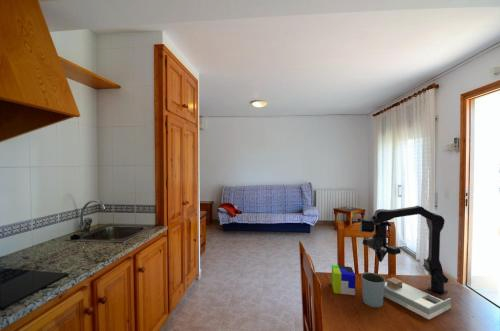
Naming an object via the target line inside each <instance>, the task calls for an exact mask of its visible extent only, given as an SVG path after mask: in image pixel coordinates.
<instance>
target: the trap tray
mask: <svg viewBox="0 0 500 331" xmlns="http://www.w3.org/2000/svg"><path fill="white" fill-rule="evenodd" d="M383 297H385V298H386V299H389V300H391V301H393V302H394V303H396V304H399V305H401V306H402V307H404V308H406V309H408V310H410V311H412V312H414V313H415V314H417V315H420V316H422V318H424V319H427V320H431V319H433V318H435V317H437V316H439V315H441V314H443V313H444V312H446V311H448V310H450V309H452V298H451V297H449V298H445V300H443V299H441V298H438V297H436V296H434V295H431V294H430V293H427V292H425V291H422V290H420V289H418V288H416V287H414V286H411V285H410V284H407V283H405V282H402V288H400V289H397V290H395V289H393V288H391V287H389V286H387V281H385V286H384V296H383Z"/></svg>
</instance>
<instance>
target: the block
mask: <svg viewBox="0 0 500 331" xmlns="http://www.w3.org/2000/svg"><path fill="white" fill-rule="evenodd" d="M386 282H387V286H389V287H391V288H393V289H395V290H397V289H400V288H402V283H403V281H402V280H400V279H397V278H396V277H390V278H387V279H386Z"/></svg>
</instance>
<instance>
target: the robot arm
mask: <svg viewBox="0 0 500 331" xmlns="http://www.w3.org/2000/svg"><path fill="white" fill-rule="evenodd" d="M417 215H420V216H422V217H423V218H425V221H426V225H427V229H428V256H427V258H423V265H422V267H423V268H424V270H425V272H427V273H428V275H429V276H430V286H429V287H427V290H429V291H431V292H434V293H436V294H438V295H441V296H442V295H445V294H446V293H448V290H447V289H446V288H445V284H447V283H449V278H448V277H447V276H445V275H444V270H443V266H442V263H441V260H440V252H441V250H440V249H441V232H442V230H443V229H444V227H445V226H444V225H445V222H446V221H445V218H444V216H442V215H440V214H438V213H436V212H431V211H429V210H428V209H425V207H423V206H420V205H415V206H409V207H408V206H407V207H402V208H396V209H395V208H394V209H387V208H386V209H385V208H383V209H381V208H380V209H376V210H375V211H374V214H373V215H372V217H371V218H370V219H360V223H359V231H360V232H361V233H371V234H372V233H373V232H374V233H373V235H372V238H369V237H368V238H363V239H362V245H364V246H367V247H368V248H369V249H373V251H374V252H375V255H376V257H377V260H378V262H380V263H382V262H383V260H385V257H386V255H387V253H388V254H389V255H392V256H395V255H398V254H401V248H400V247H398V246H394V245H390V246H389V242H388V241H387V239H388V238H389V235H388V227H392V224H391V223H390V222H389V221H391V220H393V219H395V218H396V219H397V218H402V217H409V216H417Z"/></svg>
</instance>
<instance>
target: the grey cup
mask: <svg viewBox="0 0 500 331" xmlns="http://www.w3.org/2000/svg"><path fill="white" fill-rule="evenodd" d="M360 277H361V284H362V285H361V290H362V293H361V294H362V301H363V303H364V304H366V305H367V306H369V307H372V308H381V307H383V305H384V297H385V296H384V286H385V282H386V278H385V277H384V276H383V275H380V274H378V273H374V272H363V273H361V276H360Z"/></svg>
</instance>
